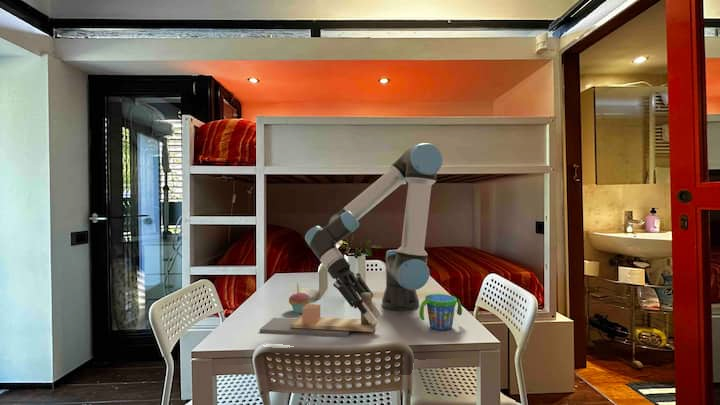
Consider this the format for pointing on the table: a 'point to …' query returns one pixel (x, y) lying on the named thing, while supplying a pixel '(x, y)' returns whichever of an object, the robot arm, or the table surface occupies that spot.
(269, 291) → the table surface
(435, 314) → the snack cup
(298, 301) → the cupcake
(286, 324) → the lane board
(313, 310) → the cube
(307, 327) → the tan wooden stand
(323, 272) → the laptop
